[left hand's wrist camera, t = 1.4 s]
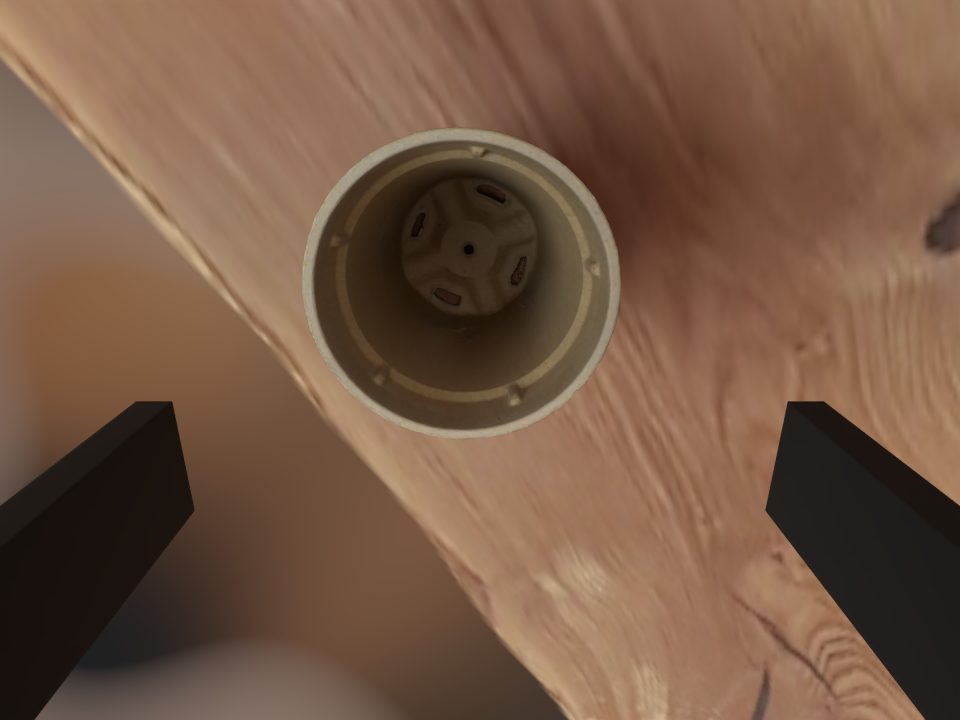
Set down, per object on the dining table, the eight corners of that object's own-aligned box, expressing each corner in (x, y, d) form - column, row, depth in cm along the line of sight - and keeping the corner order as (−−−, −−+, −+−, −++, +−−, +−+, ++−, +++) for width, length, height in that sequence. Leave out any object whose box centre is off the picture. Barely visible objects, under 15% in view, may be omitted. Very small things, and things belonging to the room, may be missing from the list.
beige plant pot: (365, 350, 27) (317, 440, 19) (349, 130, 24) (282, 127, 16) (569, 349, 27) (608, 440, 19) (581, 130, 24) (635, 127, 16)
